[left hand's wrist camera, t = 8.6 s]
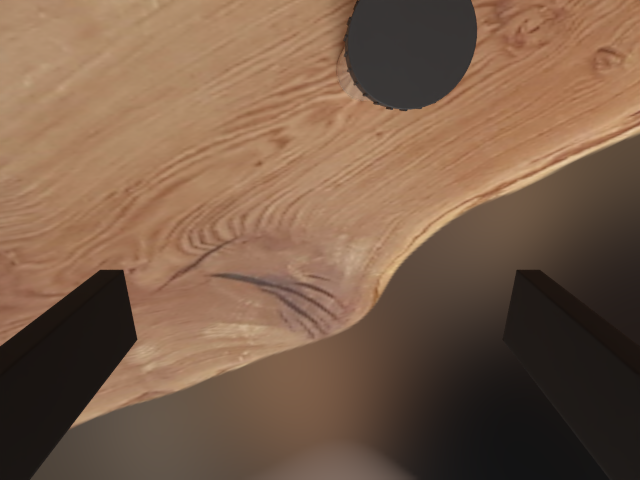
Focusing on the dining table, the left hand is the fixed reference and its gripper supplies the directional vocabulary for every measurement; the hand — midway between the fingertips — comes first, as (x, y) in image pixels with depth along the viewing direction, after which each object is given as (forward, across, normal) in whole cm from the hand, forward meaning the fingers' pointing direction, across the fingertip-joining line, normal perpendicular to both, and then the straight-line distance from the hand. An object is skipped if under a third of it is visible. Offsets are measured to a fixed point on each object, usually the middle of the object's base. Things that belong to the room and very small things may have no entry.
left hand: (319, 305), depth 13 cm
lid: (+8, +4, +9) cm, 12 cm away
